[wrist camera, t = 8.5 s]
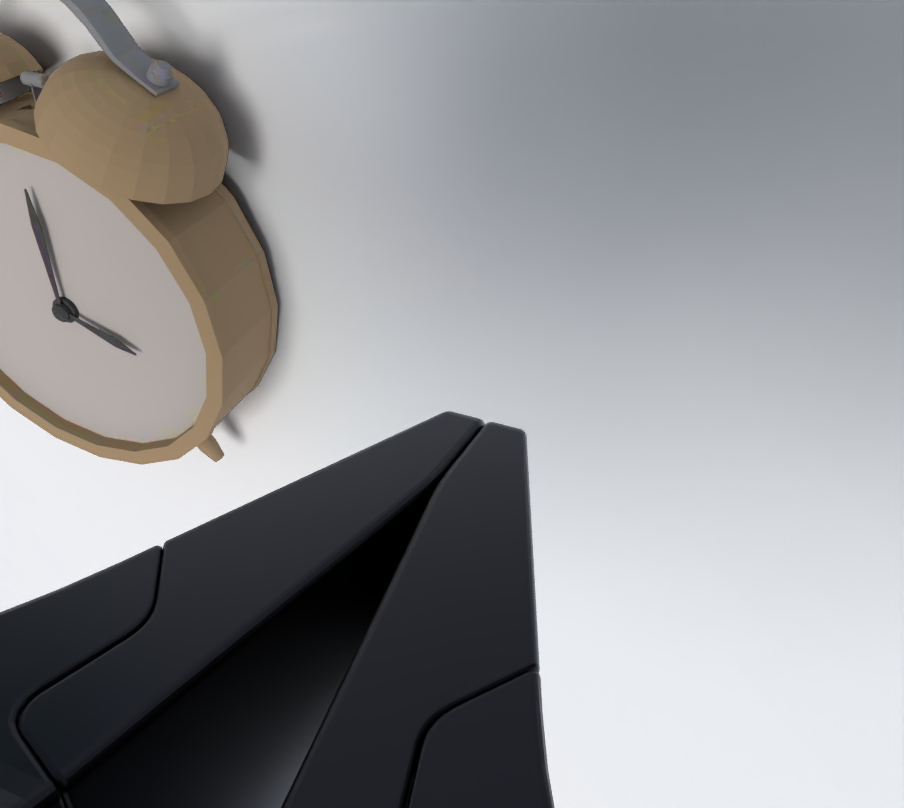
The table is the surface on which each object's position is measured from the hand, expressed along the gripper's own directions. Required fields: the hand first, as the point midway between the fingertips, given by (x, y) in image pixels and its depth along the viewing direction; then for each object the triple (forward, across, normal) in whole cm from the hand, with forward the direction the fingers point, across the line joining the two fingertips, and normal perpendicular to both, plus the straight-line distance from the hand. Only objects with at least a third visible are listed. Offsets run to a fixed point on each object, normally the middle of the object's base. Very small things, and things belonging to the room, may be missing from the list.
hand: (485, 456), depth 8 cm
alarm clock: (+14, +16, +5) cm, 21 cm away
